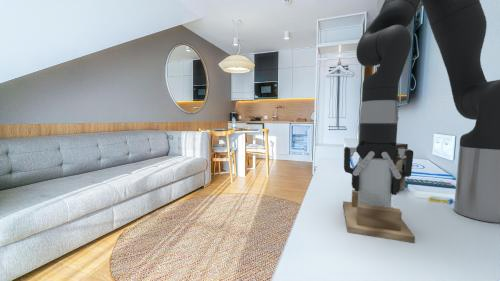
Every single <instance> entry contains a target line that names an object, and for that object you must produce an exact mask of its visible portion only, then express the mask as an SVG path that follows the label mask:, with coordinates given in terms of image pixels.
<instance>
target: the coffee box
mask: <svg viewBox="0 0 500 281" xmlns="http://www.w3.org/2000/svg"><path fill="white" fill-rule="evenodd" d="M396 146H397V148H398V149H403V150H404V149H408V148H409V144H408V143H398V142H396ZM402 160H403V159H402V158H400V155H399V154H397V155H396V156H395V157H394V159H393V163H394V165H395V166H396V168H397V170H398V171H401V170H402ZM392 177H393V175H392ZM404 185H405V187H406V177H403V178H401V180H400V190H401V191H403V190H402V189H404V190H405V189H406V188H405V187H404Z"/></svg>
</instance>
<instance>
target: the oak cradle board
mask: <svg viewBox="0 0 500 281" xmlns="http://www.w3.org/2000/svg"><path fill="white" fill-rule="evenodd" d="M342 208H343V213H344V214H343V215H344V218H345V225H346V226H345V227H346V230H347V231H346V232H347V233H349V234H350V233H352V234H357V235H363V236H370V237H377V238H383V239H390V240H395V241H400V242H401V241H403V242H406V243H407V242H408V243H414V244H415V242H416V236H415V234H414V233H413V232H412V230H411V229H410V228H409V227H408V225H407V224H406V222H405V221H404V220H403V219H402V218H403V217H402V215H403V211H401V210H400V208H394V207H393V206H391V208H388V207H380V206H371V205H363V204H358V191H355V189H352V190H351V201H344V200H343V201H342Z"/></svg>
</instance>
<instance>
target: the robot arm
mask: <svg viewBox="0 0 500 281" xmlns="http://www.w3.org/2000/svg"><path fill="white" fill-rule="evenodd" d="M420 3H421V4H422V6H423V8H424V9H423V10H424V11H425V14H426V16H427V19H428V20H427V21H428V24H429V26H430V29H431V32H432V34H433V37H434V40H435V42H436V45H437V47H438V49H439V53H440V56H441V58H442V61H443V64H444V67H445V70H446V73H447V76H448V81H449V84H450V90H451V94H452V99H453V103H454V106H455V109H456V111H457V112H458V114H460V116H462V117H463V118H465V119H468V120H471V121H472V120H475V124H474V127H473V128H472V129H471V130H470V131H469V132H467V133H464V134H462V135H461V136H460V138H459V150H458V159H457V161H458V162H457V171H456V181H455V182H456V183H455V192H454V193H455V194H454V202H453V210H454V212H456V213H457V214H459V215H461V216H464V217H467V218H471V219H474V220H477V221H482V222H489V223H494V224H495V223H496V224H497V223H500V79H495V80H490V81H487V79H486V76H485V74H484V70H483V68H482V64H481V63H482V62H481V57H482V56H481V54H482V50H483V45H484V42H485V38H486V34H487V24H488V22H487V18H486V14H485V11H484V10H483V6H482V4H481V1H480V0H383V4H382V6H381V7H380V10H379V13H378V14H377V16H376V17H375V18H374V19H373V20H372V22H371V23H370V25H369V26H368V27H367V28H366V30H364V33H362V35H361V37H360V39H359V41H358V43H357V46H356V49H355V50H356V53H355V54H356V55H355V56H356V59H357V61H358V63H359V64H360V65H361V66H363V67H366V68H370V67H376V66H378V65H379V66H378V68H377V70H376V71H375V72H373V73H371V74H370V75H369V76H366V77H365V78H364V80H363V82H362V90H361V106H360V111H359V125H358V126H359V127H358V130H359V131H358V145H357V146H356V147H351V146H350V147H349V146H345V147H344V148H343V169H344V172H345V173H349V174H350V175H351V187H352V190H355V191H359V173H360V171H361V170H362V169H363V168H364V167H365V166H366V165H367V163H368V162H369V161H370V160H371V159H372V158H382V159H389V168H390V170H391V172H392V175H393V177H392V190H391V196H396V195H397V194H398V193H400V180H401V178H403V177H405V178H406V177H407V178H409V177H411V175H412V172H413V171H412V170H413V162H414V161H413V159H414V151H413V150H412V149H404V150H403V149H398V148H397V146H396V143H397V140H398V139H397V137H398V136H397V135H398V123H399V107H398V105H399V104H398V99H399V98H398V97H399V83H400V80H401V76H402V74H403V71H404V69H405V66H406V62H407V60H408V57H409V55H410V51H411V48H412V36H411V33H410V31H409V29H408V28H407V27H408V26H409V25H410V24H411V22H412V20H414V17H415V15H416V12H417V10H418V7H419V5H420ZM355 153H357V154H358V156H359V157H361V158H362V159H363V160H362V161H361V162H360V163H359V160H358V161H357V162H356V164H355V165H354V167H351V157H353V156H354V155H355ZM397 154H399V155H400V158H402V159H403V160H402V170H401V171H398V170H397V168H396V166H395V165H394V163H393V162H392V160H393V159H394V157H395V156H396V155H397ZM363 163H364V164H363Z"/></svg>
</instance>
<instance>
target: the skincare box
mask: <svg viewBox="0 0 500 281" xmlns="http://www.w3.org/2000/svg"><path fill="white" fill-rule="evenodd" d="M362 160H363V159H362V158H361V157H360V156H359V157H358V161H359V163H360V162H361V161H362ZM392 162H393V160H392ZM363 164H364V163H363ZM358 175H359V191H358V204H363V205H371V206H380V207H388V208H391V207H392V194H391V190H392V172H391V170H390V168H389V159H382V158H372V159H371V160H370V161H369V162H368V163H367V165H366V166H365V167H364V168H363V169H362V170H361V171H360V173H359V174H358Z"/></svg>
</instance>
